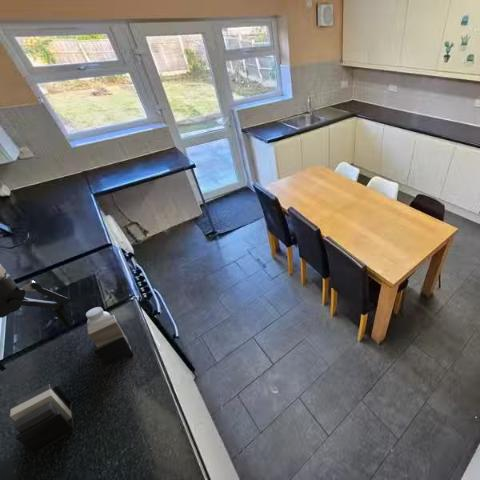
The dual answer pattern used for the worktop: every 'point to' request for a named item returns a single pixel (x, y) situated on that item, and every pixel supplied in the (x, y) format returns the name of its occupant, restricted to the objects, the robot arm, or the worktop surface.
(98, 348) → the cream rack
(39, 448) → the grey rack
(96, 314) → the supplement bottle
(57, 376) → the worktop surface
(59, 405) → the cream book
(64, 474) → the worktop surface
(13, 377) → the worktop surface
